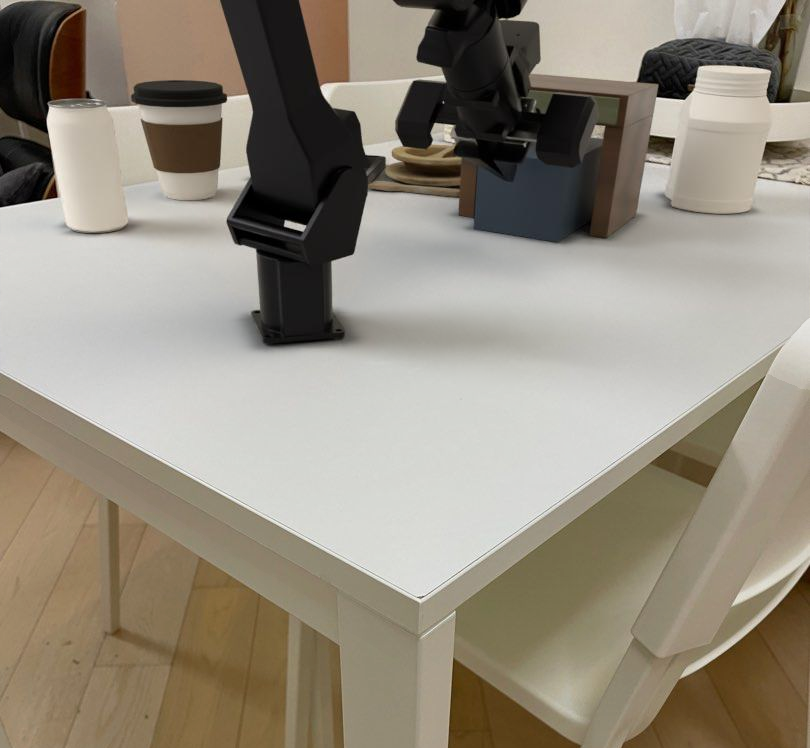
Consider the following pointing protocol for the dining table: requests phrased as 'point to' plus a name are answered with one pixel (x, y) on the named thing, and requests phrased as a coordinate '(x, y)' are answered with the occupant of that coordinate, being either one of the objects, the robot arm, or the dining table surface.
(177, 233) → the dining table surface
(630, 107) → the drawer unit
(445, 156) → the tableware set
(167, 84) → the coffee cup
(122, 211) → the can
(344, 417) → the dining table surface
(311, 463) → the dining table surface
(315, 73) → the robot arm
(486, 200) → the storage box
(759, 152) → the jar
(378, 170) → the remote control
